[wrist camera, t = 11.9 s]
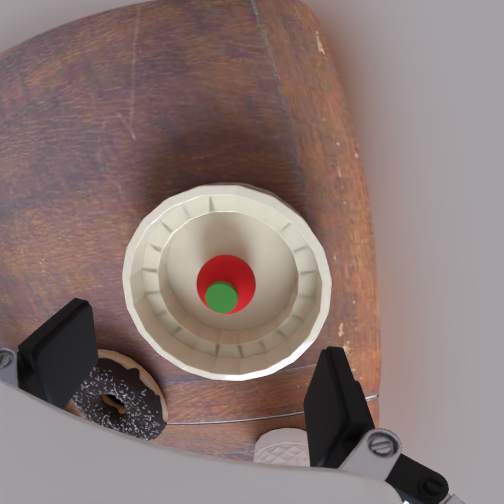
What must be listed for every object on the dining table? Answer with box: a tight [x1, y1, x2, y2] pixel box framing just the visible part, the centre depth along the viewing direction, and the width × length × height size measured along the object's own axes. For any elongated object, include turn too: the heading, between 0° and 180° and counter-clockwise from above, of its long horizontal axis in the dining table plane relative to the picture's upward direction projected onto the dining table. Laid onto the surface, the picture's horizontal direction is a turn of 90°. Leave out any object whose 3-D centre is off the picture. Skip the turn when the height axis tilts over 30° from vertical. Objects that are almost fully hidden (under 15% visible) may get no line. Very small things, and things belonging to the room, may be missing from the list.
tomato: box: [196, 255, 256, 314], centre depth 20 cm, size 4×4×4 cm
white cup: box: [253, 428, 310, 467], centre depth 23 cm, size 8×8×10 cm
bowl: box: [122, 182, 332, 381], centre depth 20 cm, size 13×13×5 cm
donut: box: [72, 349, 168, 441], centre depth 25 cm, size 11×12×4 cm
